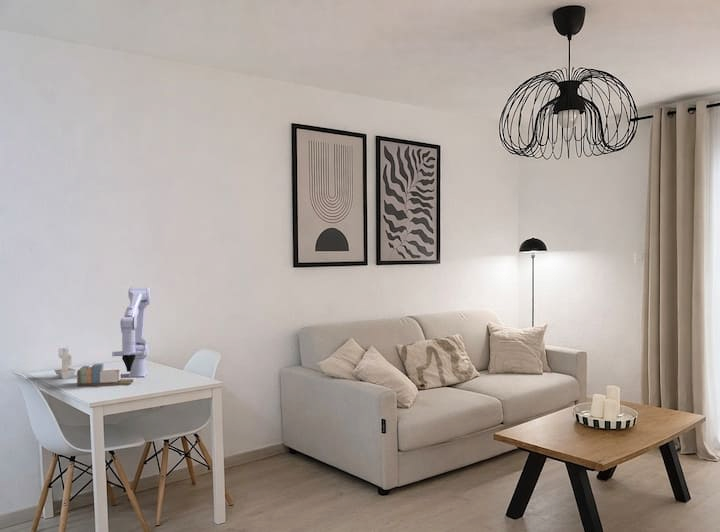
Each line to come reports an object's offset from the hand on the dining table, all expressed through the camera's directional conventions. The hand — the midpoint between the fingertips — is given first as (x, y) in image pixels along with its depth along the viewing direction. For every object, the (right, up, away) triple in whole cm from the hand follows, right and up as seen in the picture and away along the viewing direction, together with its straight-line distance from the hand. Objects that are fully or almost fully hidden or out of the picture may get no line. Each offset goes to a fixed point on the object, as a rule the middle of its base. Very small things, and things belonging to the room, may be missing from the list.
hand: (128, 371), depth 291 cm
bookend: (-8, -4, -1) cm, 9 cm away
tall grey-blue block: (-14, -5, -2) cm, 15 cm away
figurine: (-36, -5, +12) cm, 38 cm away
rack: (-11, -6, -2) cm, 12 cm away
